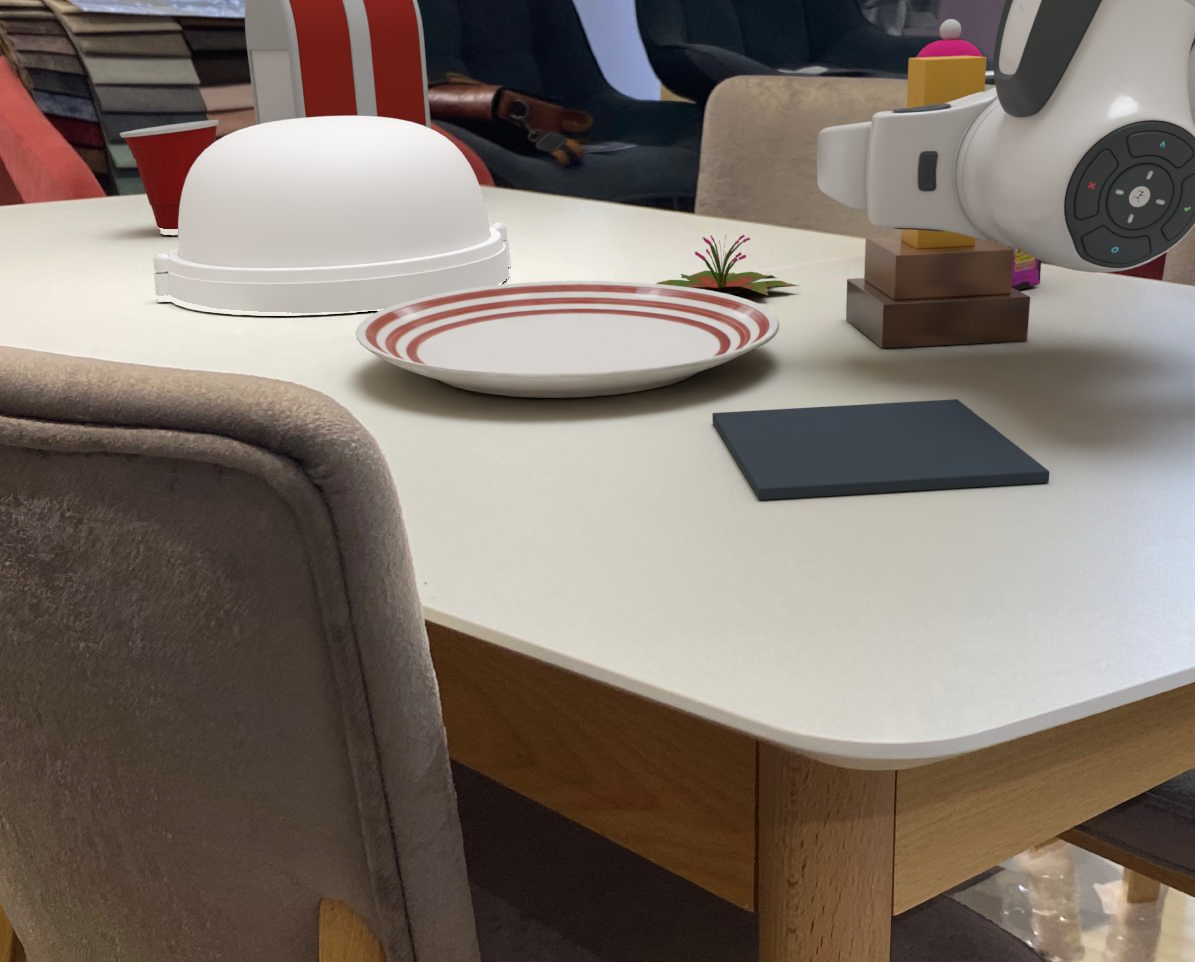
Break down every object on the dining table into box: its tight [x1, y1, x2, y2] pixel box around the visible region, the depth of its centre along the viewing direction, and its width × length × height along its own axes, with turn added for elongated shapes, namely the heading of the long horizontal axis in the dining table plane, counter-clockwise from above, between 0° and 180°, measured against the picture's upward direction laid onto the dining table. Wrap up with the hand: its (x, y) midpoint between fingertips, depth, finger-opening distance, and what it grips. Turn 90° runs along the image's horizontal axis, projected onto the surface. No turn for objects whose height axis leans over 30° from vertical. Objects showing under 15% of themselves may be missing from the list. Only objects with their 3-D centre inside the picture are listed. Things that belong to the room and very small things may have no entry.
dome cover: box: [152, 116, 512, 313], centre depth 125 cm, size 32×30×14 cm
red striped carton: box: [244, 0, 432, 129], centre depth 181 cm, size 16×18×27 cm
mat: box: [712, 398, 1050, 501], centre depth 74 cm, size 14×14×1 cm
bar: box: [900, 56, 988, 249], centre depth 97 cm, size 4×4×12 cm
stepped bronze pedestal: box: [845, 235, 1031, 350], centre depth 100 cm, size 10×10×6 cm
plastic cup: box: [119, 119, 220, 229], centre depth 161 cm, size 11×11×12 cm
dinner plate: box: [355, 280, 780, 399], centre depth 94 cm, size 28×27×3 cm
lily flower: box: [655, 234, 800, 297], centre depth 116 cm, size 12×12×5 cm
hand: (946, 144), depth 96 cm, fingers open, 8 cm apart
